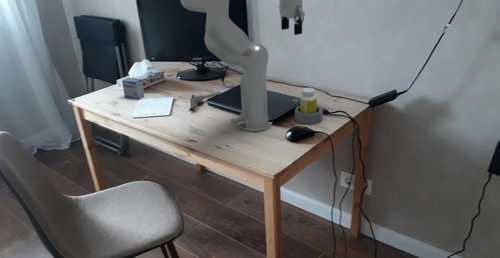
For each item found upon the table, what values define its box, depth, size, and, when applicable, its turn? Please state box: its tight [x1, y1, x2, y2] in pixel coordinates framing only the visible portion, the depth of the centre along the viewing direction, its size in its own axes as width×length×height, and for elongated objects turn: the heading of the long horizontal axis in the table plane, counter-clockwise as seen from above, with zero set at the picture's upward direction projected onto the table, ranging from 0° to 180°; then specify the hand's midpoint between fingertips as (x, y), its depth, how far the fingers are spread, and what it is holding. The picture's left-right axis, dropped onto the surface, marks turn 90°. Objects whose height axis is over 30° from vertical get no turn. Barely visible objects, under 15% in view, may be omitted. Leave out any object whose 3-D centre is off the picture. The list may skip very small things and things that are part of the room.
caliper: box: [189, 91, 223, 110], centre depth 183 cm, size 20×1×6 cm, turn 145°
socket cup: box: [294, 105, 324, 125], centre depth 162 cm, size 10×10×4 cm
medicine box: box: [121, 77, 145, 101], centre depth 190 cm, size 8×4×9 cm, turn 68°
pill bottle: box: [299, 87, 317, 114], centre depth 160 cm, size 6×6×11 cm
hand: (291, 31), depth 163 cm, fingers open, 9 cm apart
